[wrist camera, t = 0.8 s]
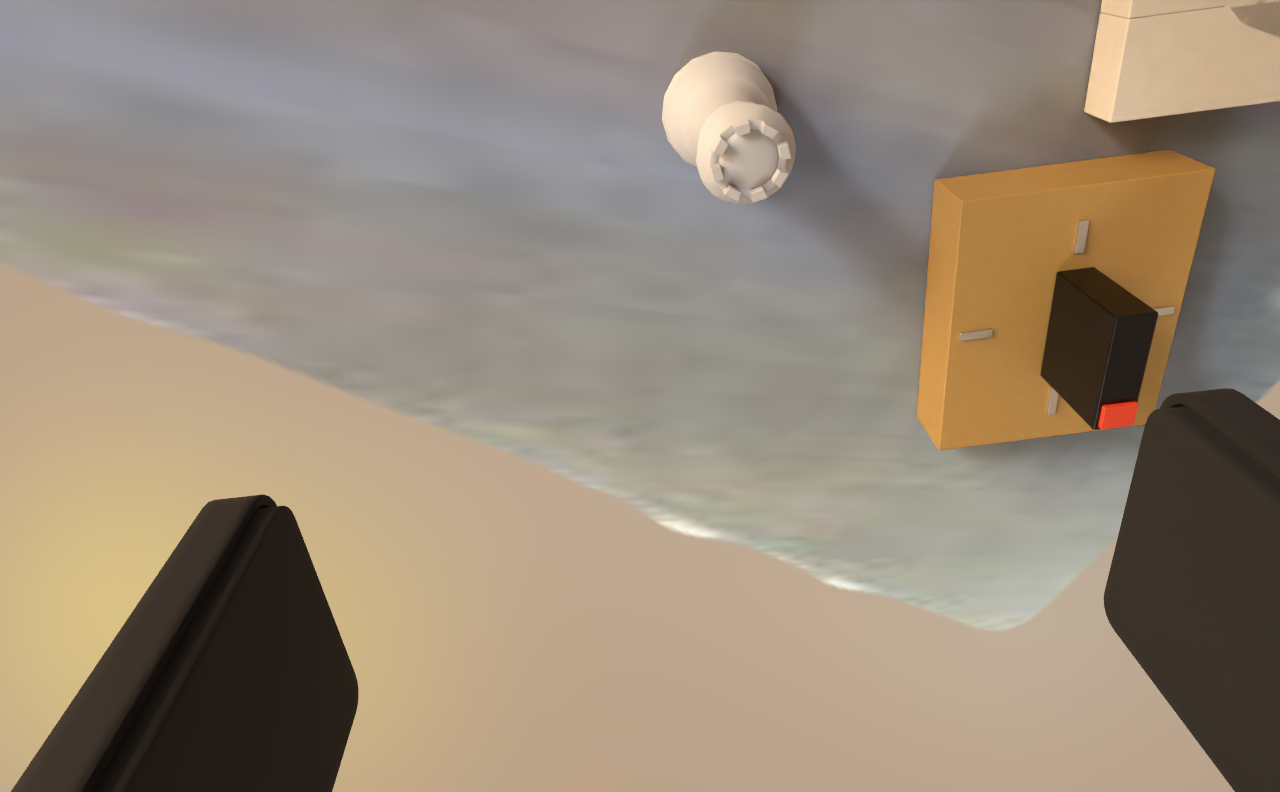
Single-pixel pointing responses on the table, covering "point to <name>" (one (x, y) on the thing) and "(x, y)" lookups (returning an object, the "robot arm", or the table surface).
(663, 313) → the table surface
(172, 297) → the table surface
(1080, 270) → the black battery pack
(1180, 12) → the white socket plate
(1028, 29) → the table surface
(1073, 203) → the orange dial base
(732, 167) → the rook chess piece
